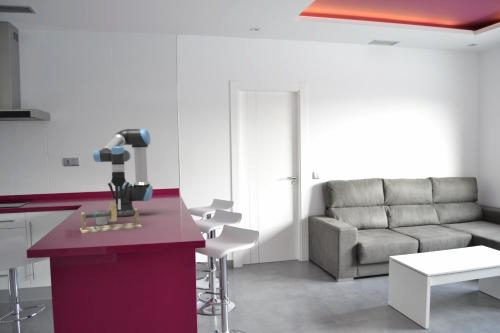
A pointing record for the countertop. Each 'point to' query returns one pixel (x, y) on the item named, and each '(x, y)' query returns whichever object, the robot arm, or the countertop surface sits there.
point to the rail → (109, 227)
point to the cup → (102, 218)
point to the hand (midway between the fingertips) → (119, 209)
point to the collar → (113, 211)
